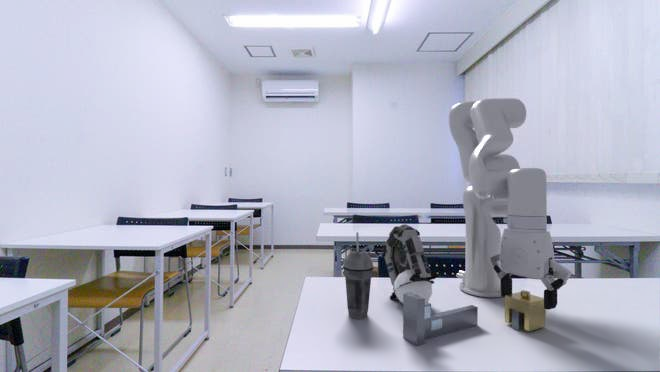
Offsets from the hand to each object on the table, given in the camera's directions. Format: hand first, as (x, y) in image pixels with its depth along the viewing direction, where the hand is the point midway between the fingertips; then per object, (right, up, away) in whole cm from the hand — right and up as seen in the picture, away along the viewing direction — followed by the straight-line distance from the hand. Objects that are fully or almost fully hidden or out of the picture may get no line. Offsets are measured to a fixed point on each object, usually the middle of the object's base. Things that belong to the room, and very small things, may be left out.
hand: (527, 301), depth 74 cm
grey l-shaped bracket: (-19, -6, -2) cm, 20 cm away
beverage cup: (-37, -6, +6) cm, 38 cm away
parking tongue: (0, -6, +1) cm, 6 cm away
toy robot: (-23, -6, +17) cm, 29 cm away
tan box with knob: (0, -5, +1) cm, 5 cm away
